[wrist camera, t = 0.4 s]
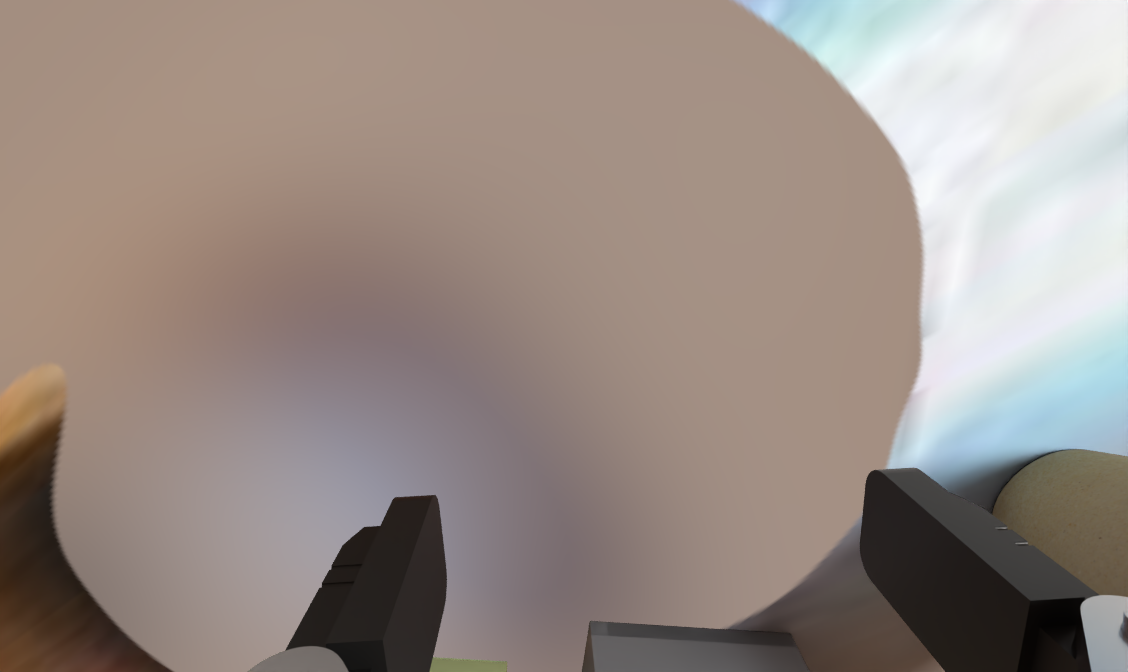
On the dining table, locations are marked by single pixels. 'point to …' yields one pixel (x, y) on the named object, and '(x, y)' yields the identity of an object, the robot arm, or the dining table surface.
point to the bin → (687, 650)
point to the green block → (466, 665)
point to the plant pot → (1074, 514)
